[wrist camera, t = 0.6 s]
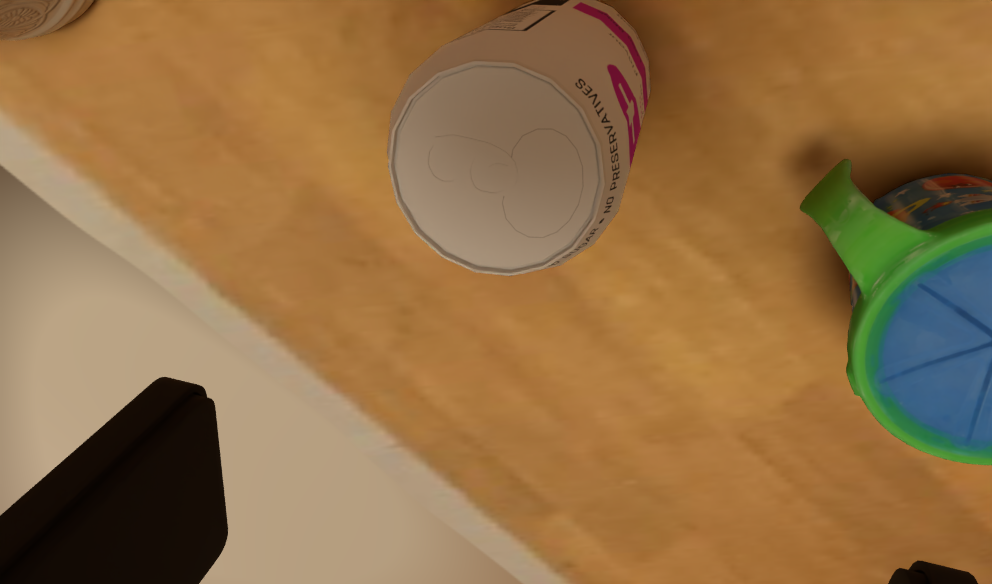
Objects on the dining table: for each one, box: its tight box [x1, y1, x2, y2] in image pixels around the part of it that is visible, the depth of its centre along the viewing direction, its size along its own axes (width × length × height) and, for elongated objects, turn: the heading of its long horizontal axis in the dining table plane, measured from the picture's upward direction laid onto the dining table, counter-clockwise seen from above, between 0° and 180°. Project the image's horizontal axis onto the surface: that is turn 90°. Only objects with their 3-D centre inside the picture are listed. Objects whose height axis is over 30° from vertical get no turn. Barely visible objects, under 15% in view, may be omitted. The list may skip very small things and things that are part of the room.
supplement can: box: [387, 0, 651, 276], centre depth 30 cm, size 8×8×15 cm
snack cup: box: [800, 159, 992, 465], centre depth 31 cm, size 16×10×10 cm
